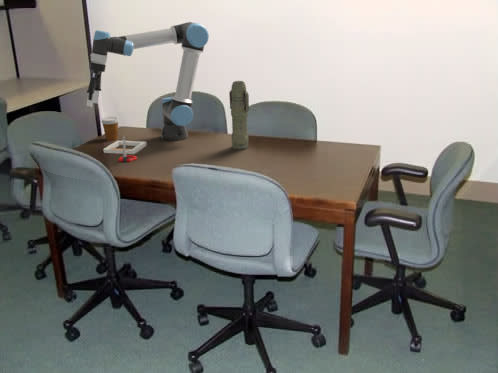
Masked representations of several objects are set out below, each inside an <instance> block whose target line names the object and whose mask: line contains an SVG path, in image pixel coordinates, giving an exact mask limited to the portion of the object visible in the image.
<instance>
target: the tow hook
mask: <svg viewBox="0 0 498 373" xmlns="http://www.w3.org/2000/svg"><path fill="white" fill-rule="evenodd" d="M122 141H123V145H122V149H123V154H122V156H120V157H119V158H118V162H125V163H128V162H129V163H131V162H133V161H136V160H137V159H138V156H136V155H133V154H126V149H127V146H126V145H125V141H126V139H125V135H123V136H122Z"/></svg>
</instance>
